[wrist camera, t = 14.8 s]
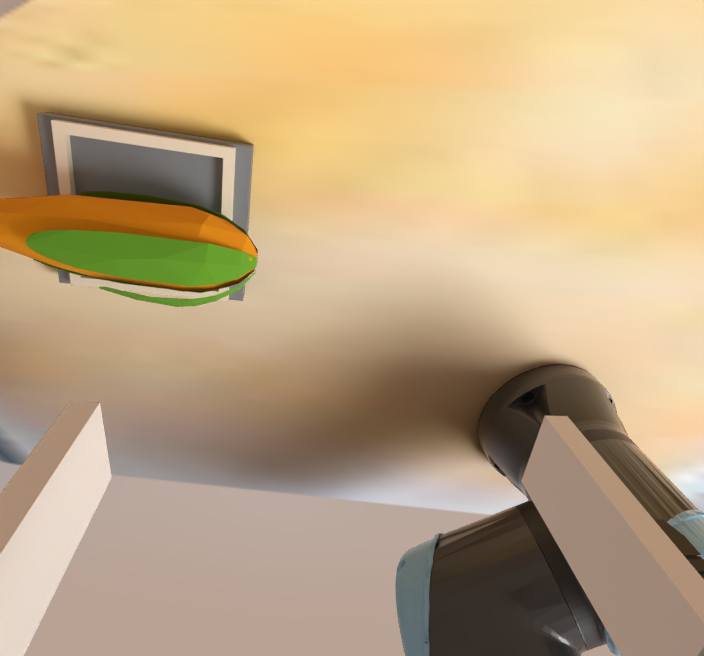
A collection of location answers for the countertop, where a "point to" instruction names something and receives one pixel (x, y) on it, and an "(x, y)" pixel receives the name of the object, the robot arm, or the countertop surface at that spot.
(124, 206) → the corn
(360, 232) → the countertop surface
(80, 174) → the board
